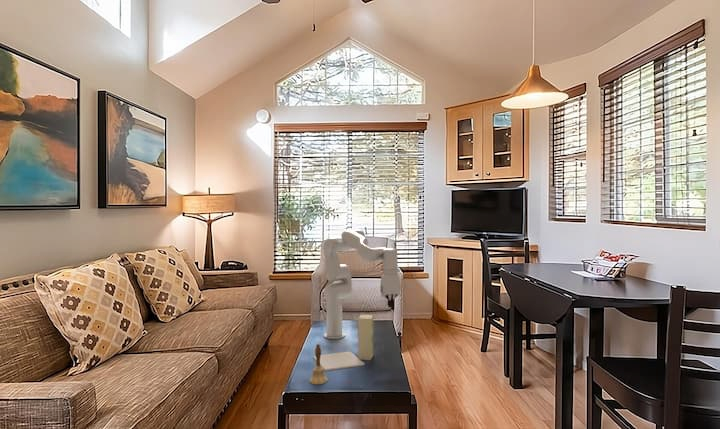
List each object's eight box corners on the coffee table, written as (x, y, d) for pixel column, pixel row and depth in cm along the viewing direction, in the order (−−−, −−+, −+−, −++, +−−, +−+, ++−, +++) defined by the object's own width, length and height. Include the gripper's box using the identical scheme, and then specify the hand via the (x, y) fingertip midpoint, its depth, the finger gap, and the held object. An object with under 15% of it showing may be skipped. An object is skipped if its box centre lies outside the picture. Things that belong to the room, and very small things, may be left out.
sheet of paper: (313, 357, 220) (313, 356, 220) (349, 352, 227) (349, 351, 227) (324, 371, 201) (324, 369, 201) (364, 365, 208) (364, 363, 208)
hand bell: (306, 383, 187) (306, 346, 186) (313, 376, 195) (313, 341, 194) (324, 385, 184) (324, 348, 184) (330, 378, 192) (330, 342, 192)
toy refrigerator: (372, 360, 215) (372, 318, 215) (357, 359, 216) (357, 318, 216) (374, 355, 223) (374, 315, 223) (360, 354, 224) (360, 314, 224)
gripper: (399, 270, 231) (400, 304, 231) (374, 272, 225) (375, 307, 225) (406, 272, 224) (407, 307, 224) (380, 273, 218) (381, 310, 218)
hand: (391, 307), depth 224 cm, fingers closed
